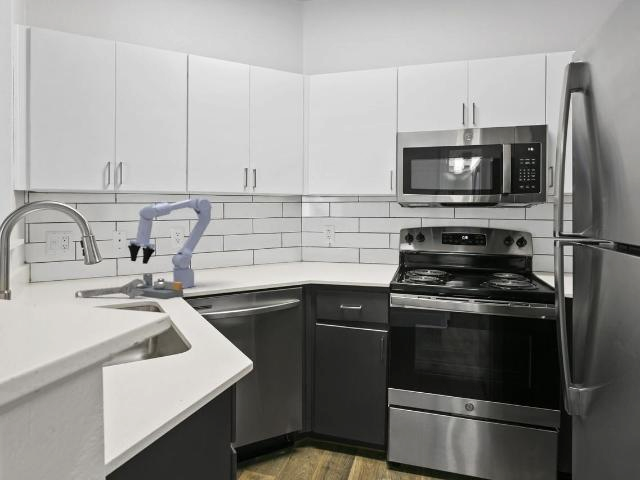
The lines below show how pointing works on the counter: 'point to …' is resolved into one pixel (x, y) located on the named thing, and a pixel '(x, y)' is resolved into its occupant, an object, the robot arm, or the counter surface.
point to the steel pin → (148, 279)
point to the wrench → (115, 290)
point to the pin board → (159, 292)
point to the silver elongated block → (167, 285)
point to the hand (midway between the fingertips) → (139, 262)
